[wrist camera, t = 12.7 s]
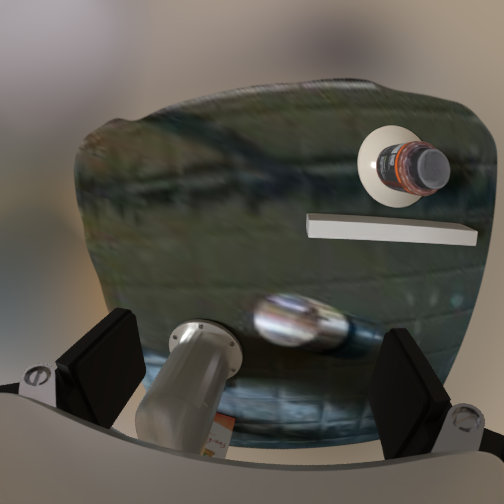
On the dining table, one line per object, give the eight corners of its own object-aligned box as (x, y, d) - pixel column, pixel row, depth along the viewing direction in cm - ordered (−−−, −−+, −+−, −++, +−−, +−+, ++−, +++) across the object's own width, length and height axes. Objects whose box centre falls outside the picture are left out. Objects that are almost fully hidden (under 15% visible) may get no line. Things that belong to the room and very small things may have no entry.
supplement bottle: (418, 184, 32) (463, 193, 21) (381, 194, 33) (417, 207, 23) (407, 141, 31) (450, 134, 20) (368, 150, 32) (401, 145, 21)
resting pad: (427, 209, 33) (428, 210, 33) (355, 204, 35) (356, 204, 34) (429, 132, 30) (431, 132, 30) (357, 121, 32) (358, 120, 31)
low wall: (458, 236, 34) (475, 245, 29) (306, 228, 37) (308, 237, 32) (460, 223, 33) (477, 231, 28) (306, 213, 36) (309, 220, 31)
